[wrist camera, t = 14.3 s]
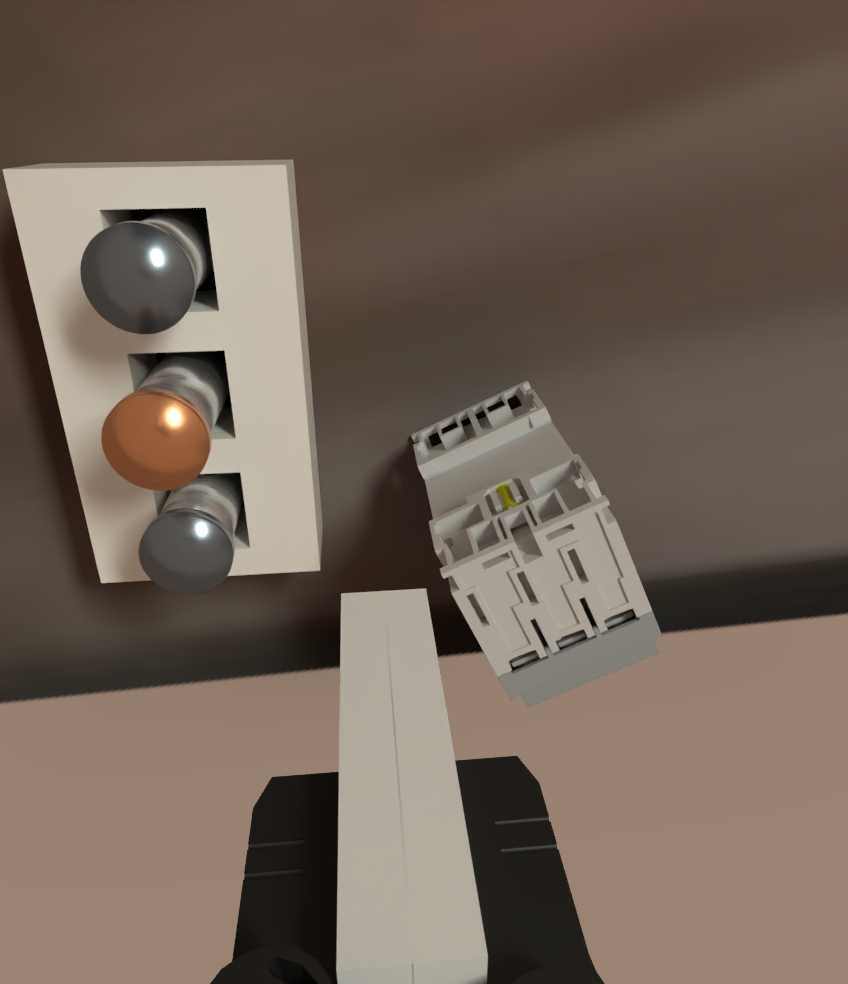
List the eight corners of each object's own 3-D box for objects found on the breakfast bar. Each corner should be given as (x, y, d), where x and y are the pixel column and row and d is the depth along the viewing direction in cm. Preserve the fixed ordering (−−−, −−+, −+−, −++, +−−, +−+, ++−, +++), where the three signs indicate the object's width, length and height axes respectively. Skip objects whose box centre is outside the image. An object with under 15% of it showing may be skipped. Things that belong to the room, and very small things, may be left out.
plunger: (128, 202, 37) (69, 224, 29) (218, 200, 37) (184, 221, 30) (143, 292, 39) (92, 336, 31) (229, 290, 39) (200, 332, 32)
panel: (44, 163, 37) (2, 169, 32) (293, 159, 38) (285, 164, 33) (125, 538, 46) (101, 583, 41) (322, 527, 47) (320, 570, 42)
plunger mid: (143, 340, 39) (91, 396, 31) (230, 337, 39) (201, 392, 31) (157, 421, 41) (112, 493, 33) (240, 417, 41) (215, 488, 33)
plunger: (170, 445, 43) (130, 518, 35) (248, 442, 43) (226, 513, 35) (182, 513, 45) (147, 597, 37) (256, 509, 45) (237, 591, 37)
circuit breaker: (501, 609, 51) (556, 784, 38) (411, 434, 45) (438, 569, 31) (604, 564, 50) (698, 726, 37) (526, 380, 44) (605, 494, 30)
